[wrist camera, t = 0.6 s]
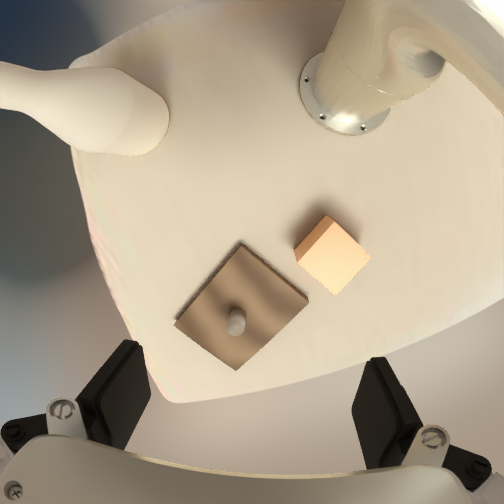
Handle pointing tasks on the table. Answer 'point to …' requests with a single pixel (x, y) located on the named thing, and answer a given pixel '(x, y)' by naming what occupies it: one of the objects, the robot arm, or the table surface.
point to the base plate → (241, 309)
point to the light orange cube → (331, 255)
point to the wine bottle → (88, 107)
